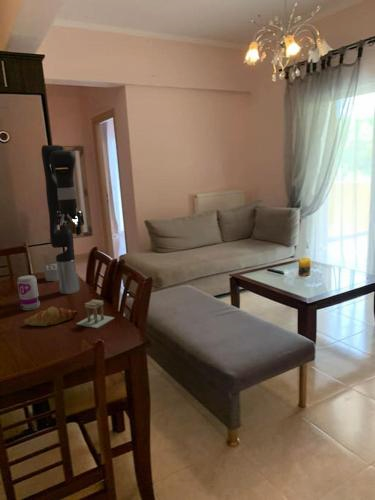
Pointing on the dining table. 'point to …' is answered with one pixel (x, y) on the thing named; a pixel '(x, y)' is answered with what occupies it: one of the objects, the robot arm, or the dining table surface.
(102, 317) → the stool
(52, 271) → the egg container
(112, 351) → the dining table surface
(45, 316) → the croissant
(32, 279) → the supplement can
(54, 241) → the robot arm
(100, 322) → the mat
